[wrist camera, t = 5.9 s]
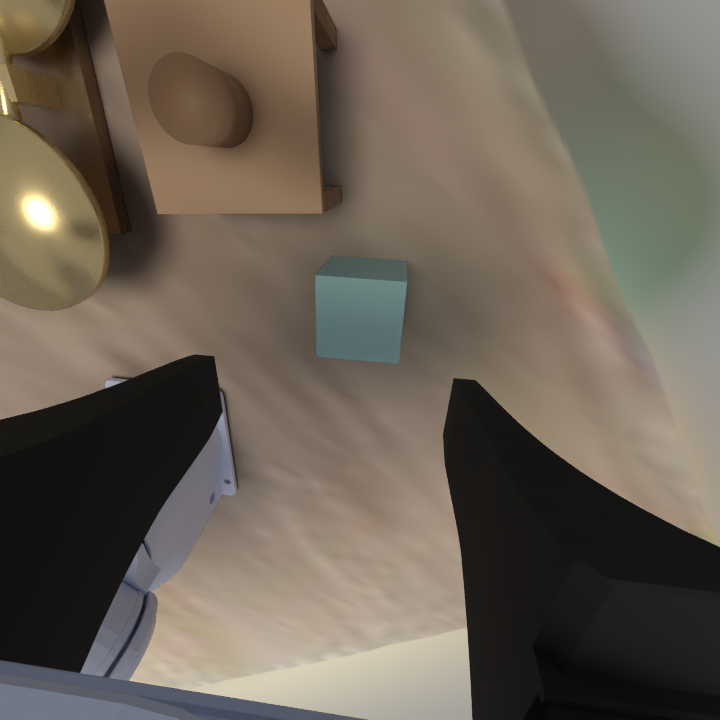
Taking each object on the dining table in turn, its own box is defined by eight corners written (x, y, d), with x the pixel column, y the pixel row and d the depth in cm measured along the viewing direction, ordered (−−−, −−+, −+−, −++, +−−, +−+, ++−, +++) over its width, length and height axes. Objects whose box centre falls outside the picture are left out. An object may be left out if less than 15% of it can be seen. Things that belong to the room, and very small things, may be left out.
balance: (176, 288, 21) (122, 317, 17) (47, 277, 22) (-35, 303, 18) (81, -215, 13) (-69, -392, 9) (-125, -211, 13) (-357, -375, 9)
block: (400, 331, 21) (398, 364, 18) (331, 325, 22) (316, 356, 18) (407, 260, 19) (407, 282, 16) (331, 255, 20) (315, 275, 16)
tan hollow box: (342, 201, 18) (307, 222, 12) (214, 202, 19) (115, 222, 12) (336, 27, 15) (285, -73, 9) (183, 35, 16) (32, -52, 9)
